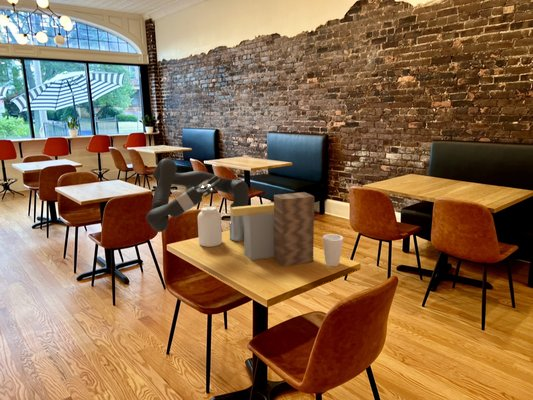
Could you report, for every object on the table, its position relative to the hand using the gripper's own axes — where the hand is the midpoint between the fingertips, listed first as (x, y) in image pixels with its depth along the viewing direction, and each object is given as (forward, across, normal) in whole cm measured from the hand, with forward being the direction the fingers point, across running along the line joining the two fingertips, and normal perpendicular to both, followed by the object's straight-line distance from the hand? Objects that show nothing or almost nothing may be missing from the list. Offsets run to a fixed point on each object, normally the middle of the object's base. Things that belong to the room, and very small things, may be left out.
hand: (219, 178), depth 178 cm
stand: (+8, -8, +52) cm, 53 cm away
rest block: (-2, +5, +46) cm, 47 cm away
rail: (+8, +5, +26) cm, 28 cm away
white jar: (-20, +32, +36) cm, 52 cm away
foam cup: (+21, -18, +60) cm, 66 cm away
